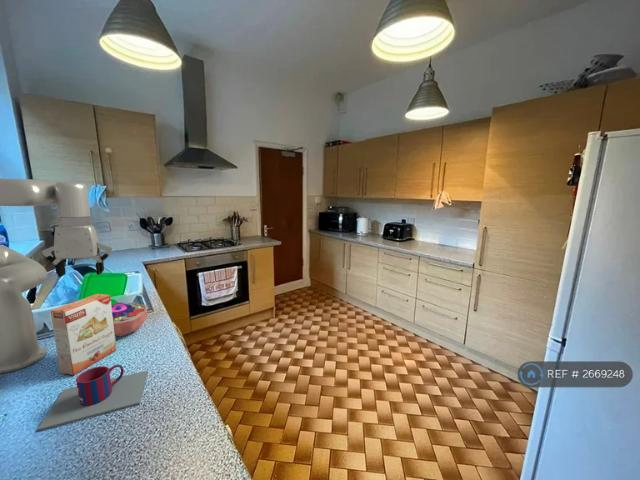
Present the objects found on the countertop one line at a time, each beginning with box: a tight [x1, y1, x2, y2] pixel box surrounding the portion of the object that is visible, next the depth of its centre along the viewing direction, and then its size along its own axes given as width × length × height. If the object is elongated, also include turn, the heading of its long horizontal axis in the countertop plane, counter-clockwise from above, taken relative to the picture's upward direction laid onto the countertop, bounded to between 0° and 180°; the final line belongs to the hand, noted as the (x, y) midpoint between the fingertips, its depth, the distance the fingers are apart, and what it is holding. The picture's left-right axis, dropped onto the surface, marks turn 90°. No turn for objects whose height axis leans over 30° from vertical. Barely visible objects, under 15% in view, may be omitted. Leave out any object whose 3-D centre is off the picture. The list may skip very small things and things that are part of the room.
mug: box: [75, 364, 124, 406], centre depth 72 cm, size 7×10×7 cm
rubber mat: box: [37, 370, 149, 433], centre depth 72 cm, size 20×14×1 cm
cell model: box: [111, 302, 149, 337], centre depth 105 cm, size 17×20×11 cm
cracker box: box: [50, 293, 117, 376], centre depth 86 cm, size 14×6×21 cm, turn 168°
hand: (81, 274), depth 86 cm, fingers open, 9 cm apart
